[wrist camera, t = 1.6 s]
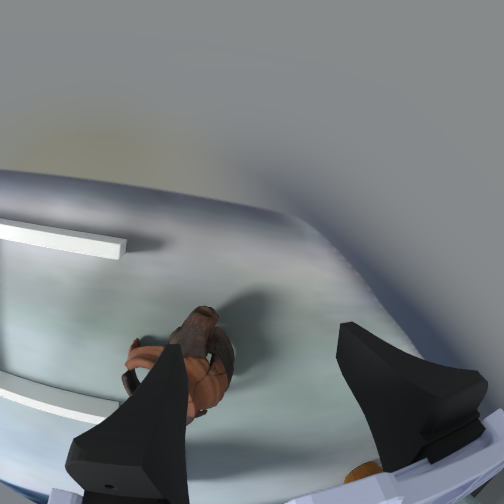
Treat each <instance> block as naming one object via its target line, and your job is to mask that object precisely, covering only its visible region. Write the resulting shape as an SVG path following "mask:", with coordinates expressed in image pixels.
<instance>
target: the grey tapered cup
mask: <svg viewBox="0 0 504 504" xmlns="http://www.w3.org/2000/svg"><path fill="white" fill-rule="evenodd" d="M455 504H481V503H480V502H479V501H477V500H476V499H474V498H473V497H472V496H471V495H470V494H468V495H467V496H465V497H464V498H462V499H461V500H459V501H458V502H456V503H455Z"/></svg>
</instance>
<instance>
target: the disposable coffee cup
mask: <svg viewBox="0 0 504 504" xmlns="http://www.w3.org/2000/svg"><path fill="white" fill-rule="evenodd" d="M383 472H384V471H383V469H382V468H381V467H379V466H378V465H377V464H376V463H375V462H368V463H365V464H363V465H361V466H359V467H357V468H356V469H354V470H353V471H352V472H351V473H350V474H349V475H348V476H347V477H346V479H345V484H347V483H350V482H353V481H356V480H359V479H363V478H366V477H368V476H371V475H375V474H379V473H383Z"/></svg>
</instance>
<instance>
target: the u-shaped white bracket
mask: <svg viewBox="0 0 504 504" xmlns="http://www.w3.org/2000/svg"><path fill="white" fill-rule="evenodd" d="M0 238H1V239H6V240H11V241H16V242H21V243H26V244H32V245H37V246H42V247H48V248H53V249H58V250H64V251H70V252H75V253H81V254H87V255H92V256H98V257H104V258H110V259H116V260H119V259H120V258H121V257H122V256H123V255H124V254H125V252H126V244H127V239H122V238H116V237H110V236H104V235H98V234H92V233H85V232H79V231H73V230H67V229H61V228H55V227H49V226H43V225H37V224H31V223H25V222H19V221H13V220H7V219H1V218H0ZM0 396H2V397H5V398H7V399H10V400H13V401H15V402H18V403H21V404H24V405H27V406H30V407H33V408H36V409H40V410H43V411H46V412H50V413H53V414H57V415H60V416H64V417H68V418H72V419H76V420H80V421H84V422H89V423H94V424H99V423H101V422H102V421H103V420H105V419H106V418H107V417H109V416H110V415H111V414H112V413H113V412H115V411H116V410H117V409H118V408H119V402H116V401H111V400H106V399H100V398H96V397H91V396H86V395H82V394H77V393H73V392H69V391H65V390H61V389H57V388H53V387H50V386H46V385H43V384H39V383H36V382H33V381H29V380H26V379H23V378H20V377H17V376H14V375H11V374H8V373H5V372H3V371H0Z"/></svg>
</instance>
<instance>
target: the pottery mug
mask: <svg viewBox="0 0 504 504" xmlns="http://www.w3.org/2000/svg"><path fill="white" fill-rule="evenodd" d="M218 318H219V316H218V314H217V313H216V312H215V310H214V309H213V308H212V307H207V306H199V307H197V308H196V309H195V310H194V311H193V312H192V313H191V314H190V315H189V317H188V318H187V320H185V321H184V323H183V324H182V326H181V327H178V328H177V329H176V330H175V331H174V332H173V333H172V334H171V339H170V343H169V344H180V345H181V349H182V354H183V358H184V362H185V366H186V370H187V374H188V387H189V399H188V410H187V421H186V426H187V425H188V424H190V423H191V422H192V421H193V420H194V418H197V417H200V416H202V415H205V414H206V413H207V410H205V409H208V408H212V407H215V406H216V405H217V404H218V402H219V401H221V400H222V398H223V396H224V392H226V391H227V389H228V387H229V384H230V382H231V378H232V375H233V371H234V369H233V364H234V350H233V347H232V344H231V342H230V340H229V338H228V337H227V336H226V335H225V334H224V332H223V331H222V330H221V329H219V328H218V327H216V328H215V327H214V326H215V324H216V323H217V321H218ZM163 349H164V346H144V347H140V340H139V339H138V338H136V340H134V341H133V344H132V345H131V347H130V349H129V355H128V361H127V362H126V363H125V366H126V367H127V369H128V371H127V372H126V373H124V374H123V375H122V382H123V385H124V387H125V389H126V391H127V393H128V395H129V396H131V395H132V394H133V393H134V391H135V390H136V389H137V388H138V386H139V385H140V384H141V383H140V382H139V380H138V379H137V376H136V373H135V368H138V367H142V368H147V369H150V370H151V368H152V367H153V365H154V364H155V362H156V361H157V359H158V357H159V356H160V354H161V352H162V351H163ZM208 353H210V354H212V357H211V360H210V364H209V362H208V360H207V359H206V356H207V355H208ZM200 410H203V411H200Z"/></svg>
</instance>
